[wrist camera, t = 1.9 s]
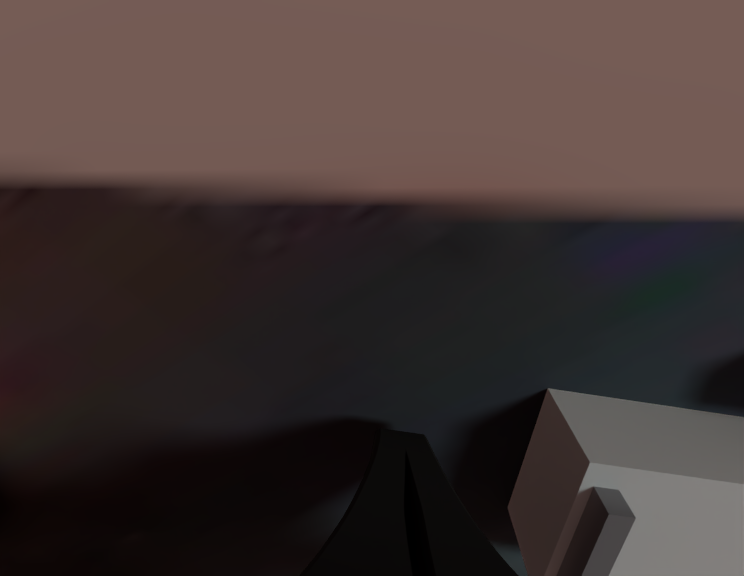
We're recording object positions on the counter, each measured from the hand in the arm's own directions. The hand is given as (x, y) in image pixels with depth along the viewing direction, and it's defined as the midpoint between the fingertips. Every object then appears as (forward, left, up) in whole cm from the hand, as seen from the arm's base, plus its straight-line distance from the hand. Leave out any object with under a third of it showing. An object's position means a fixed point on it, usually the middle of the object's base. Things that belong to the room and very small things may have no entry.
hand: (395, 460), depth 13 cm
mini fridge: (-7, 0, -1) cm, 7 cm away
